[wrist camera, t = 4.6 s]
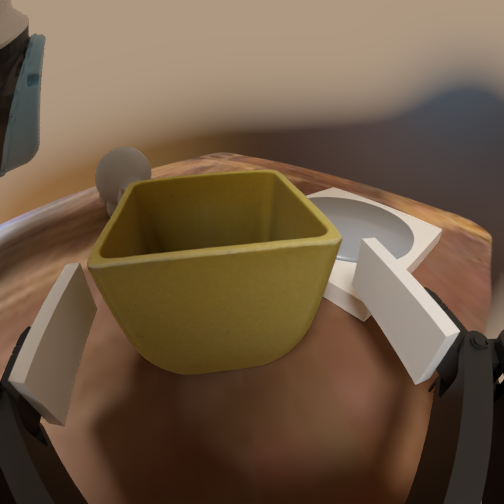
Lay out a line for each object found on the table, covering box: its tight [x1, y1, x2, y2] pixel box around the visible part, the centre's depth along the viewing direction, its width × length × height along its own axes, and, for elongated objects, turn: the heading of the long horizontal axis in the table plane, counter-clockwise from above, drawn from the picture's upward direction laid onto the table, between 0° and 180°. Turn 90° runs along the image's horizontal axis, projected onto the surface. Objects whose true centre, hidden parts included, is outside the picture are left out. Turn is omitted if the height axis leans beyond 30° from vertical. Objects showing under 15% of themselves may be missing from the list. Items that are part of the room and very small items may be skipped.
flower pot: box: [87, 170, 343, 375], centre depth 14 cm, size 9×9×9 cm
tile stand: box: [306, 187, 442, 322], centre depth 27 cm, size 16×18×2 cm
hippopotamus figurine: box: [95, 147, 151, 217], centre depth 31 cm, size 7×12×8 cm, turn 37°
